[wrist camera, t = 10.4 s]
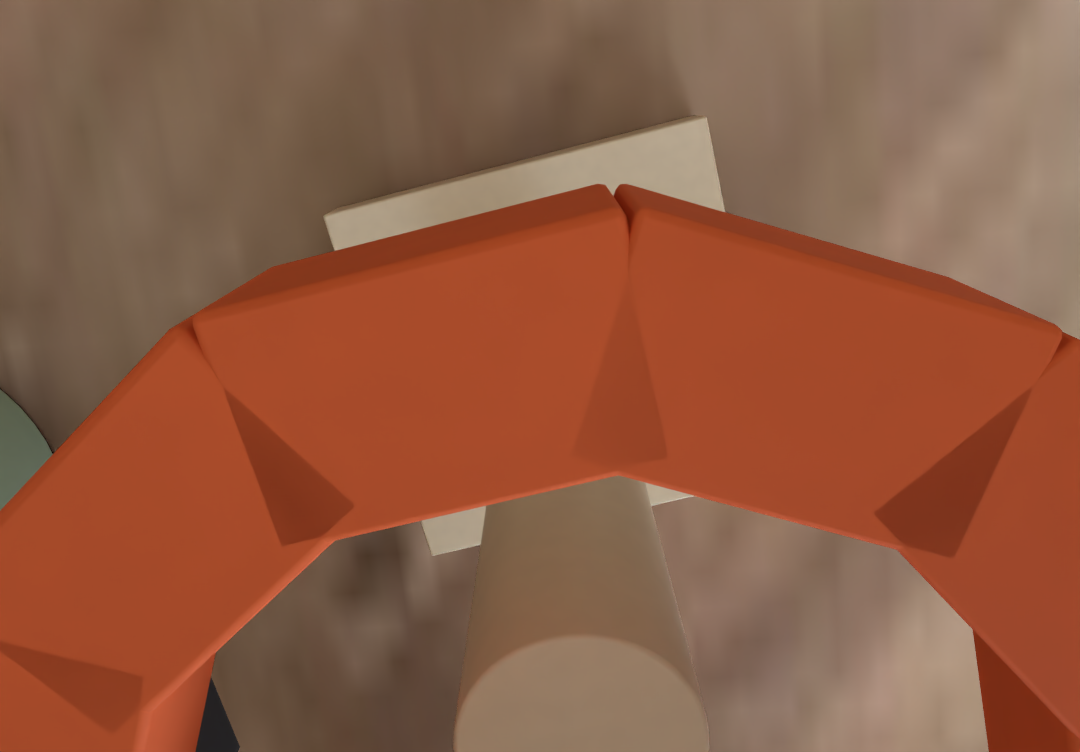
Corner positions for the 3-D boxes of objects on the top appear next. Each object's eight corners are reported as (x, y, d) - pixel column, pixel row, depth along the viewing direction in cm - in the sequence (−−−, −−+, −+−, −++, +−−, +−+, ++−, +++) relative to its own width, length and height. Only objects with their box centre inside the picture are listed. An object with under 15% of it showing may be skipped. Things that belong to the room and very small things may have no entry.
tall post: (437, 530, 25) (280, 1163, 10) (336, 207, 22) (-73, 416, 8) (763, 455, 24) (1108, 1015, 9) (696, 114, 22) (1022, 142, 7)
